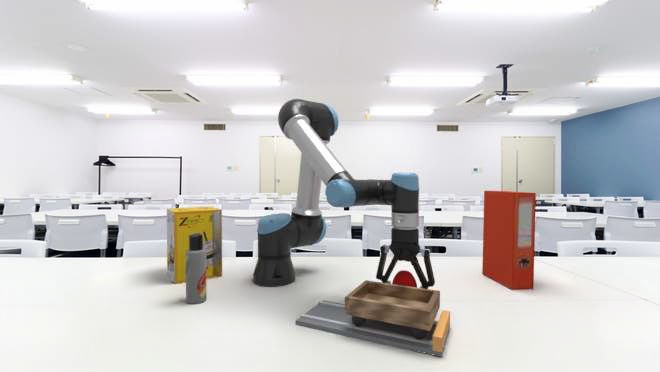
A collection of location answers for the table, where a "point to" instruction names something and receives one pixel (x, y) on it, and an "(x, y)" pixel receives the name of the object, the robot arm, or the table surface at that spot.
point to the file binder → (509, 238)
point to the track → (376, 328)
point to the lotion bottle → (196, 270)
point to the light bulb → (404, 279)
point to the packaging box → (178, 232)
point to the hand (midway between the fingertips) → (404, 307)
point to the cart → (394, 305)
